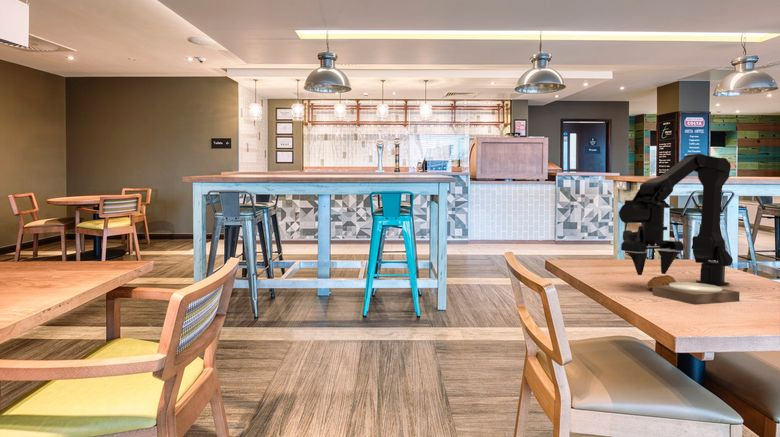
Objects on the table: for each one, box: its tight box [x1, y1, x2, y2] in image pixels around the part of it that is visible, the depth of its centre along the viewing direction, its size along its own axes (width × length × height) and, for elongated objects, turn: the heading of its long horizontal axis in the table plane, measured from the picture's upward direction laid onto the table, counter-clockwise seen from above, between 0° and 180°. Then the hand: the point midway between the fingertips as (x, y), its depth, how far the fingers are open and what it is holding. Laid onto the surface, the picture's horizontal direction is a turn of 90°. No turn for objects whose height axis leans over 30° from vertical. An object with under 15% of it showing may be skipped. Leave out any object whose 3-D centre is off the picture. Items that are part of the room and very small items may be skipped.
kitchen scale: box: [652, 281, 741, 305], centre depth 131 cm, size 16×13×3 cm
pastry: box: [646, 274, 677, 289], centre depth 142 cm, size 9×7×4 cm
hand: (651, 274), depth 143 cm, fingers open, 9 cm apart
